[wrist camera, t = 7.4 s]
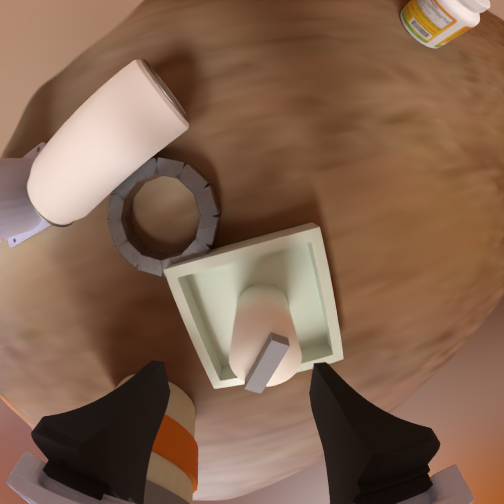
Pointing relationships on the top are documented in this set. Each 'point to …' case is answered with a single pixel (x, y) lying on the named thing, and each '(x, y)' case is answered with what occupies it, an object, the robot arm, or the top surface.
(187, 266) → the tray
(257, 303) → the peg
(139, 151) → the can
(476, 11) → the supplement bottle
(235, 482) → the top surface
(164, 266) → the collar
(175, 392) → the reusable coffee cup
